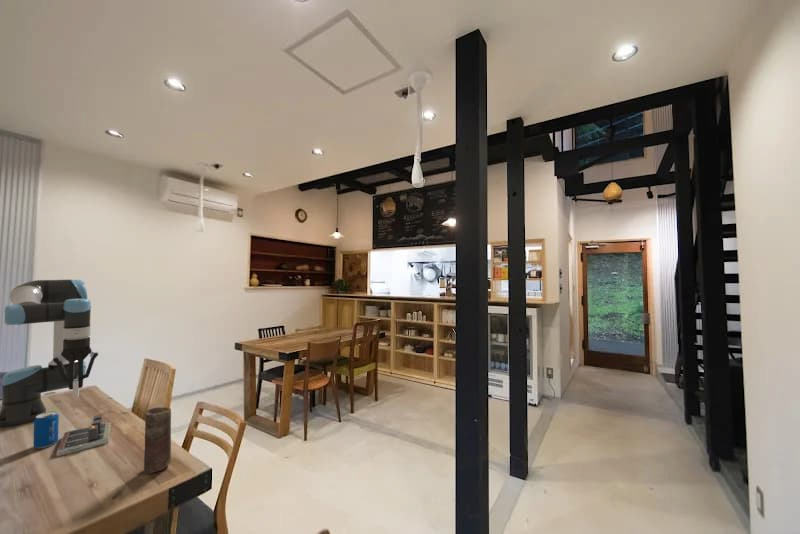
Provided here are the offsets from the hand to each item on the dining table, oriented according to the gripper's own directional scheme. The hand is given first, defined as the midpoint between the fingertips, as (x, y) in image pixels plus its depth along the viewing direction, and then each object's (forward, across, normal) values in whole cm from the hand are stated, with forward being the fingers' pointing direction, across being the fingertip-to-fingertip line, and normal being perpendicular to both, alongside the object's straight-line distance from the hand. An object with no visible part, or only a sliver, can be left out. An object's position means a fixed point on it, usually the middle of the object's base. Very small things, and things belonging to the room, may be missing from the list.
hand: (75, 396), depth 126 cm
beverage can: (+19, -8, +5) cm, 21 cm away
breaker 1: (+16, +6, +6) cm, 18 cm away
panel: (+18, +3, 0) cm, 19 cm away
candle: (+17, +24, -42) cm, 52 cm away
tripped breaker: (+16, +6, -6) cm, 18 cm away
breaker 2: (+16, +6, 0) cm, 17 cm away
